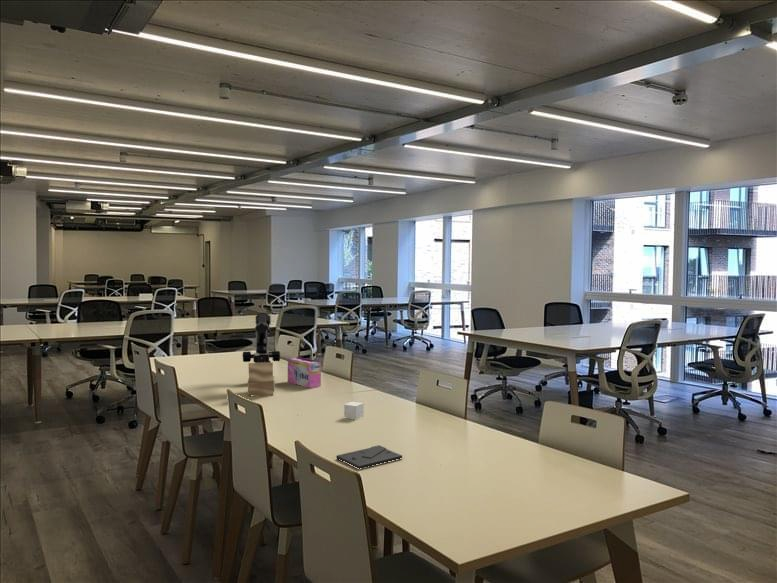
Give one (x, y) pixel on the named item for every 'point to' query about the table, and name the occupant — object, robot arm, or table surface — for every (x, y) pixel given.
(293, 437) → the table surface
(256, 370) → the flap
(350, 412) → the white cube
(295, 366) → the gum box
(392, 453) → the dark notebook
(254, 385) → the carton
